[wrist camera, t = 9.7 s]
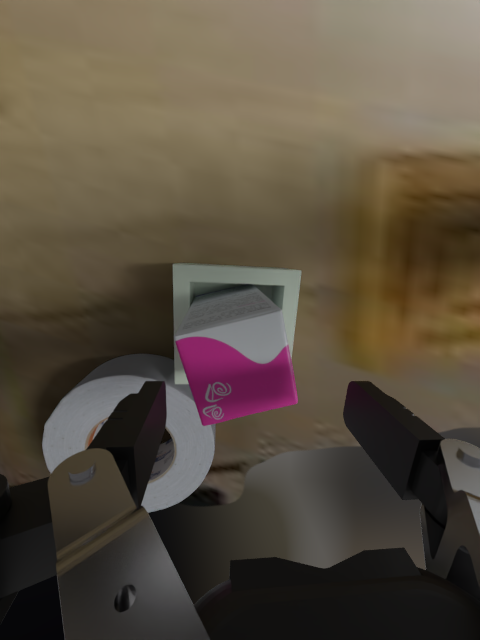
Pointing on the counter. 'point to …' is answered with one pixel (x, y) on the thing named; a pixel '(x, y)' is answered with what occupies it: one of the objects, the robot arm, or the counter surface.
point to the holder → (212, 277)
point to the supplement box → (236, 354)
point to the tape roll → (99, 402)
